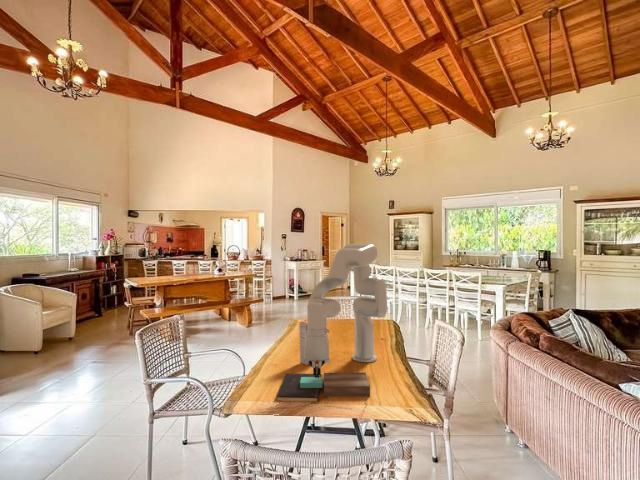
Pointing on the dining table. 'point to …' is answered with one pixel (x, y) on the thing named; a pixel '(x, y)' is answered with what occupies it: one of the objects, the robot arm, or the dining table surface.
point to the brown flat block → (346, 384)
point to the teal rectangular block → (311, 382)
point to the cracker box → (303, 340)
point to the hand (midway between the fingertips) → (317, 376)
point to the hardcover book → (297, 389)
